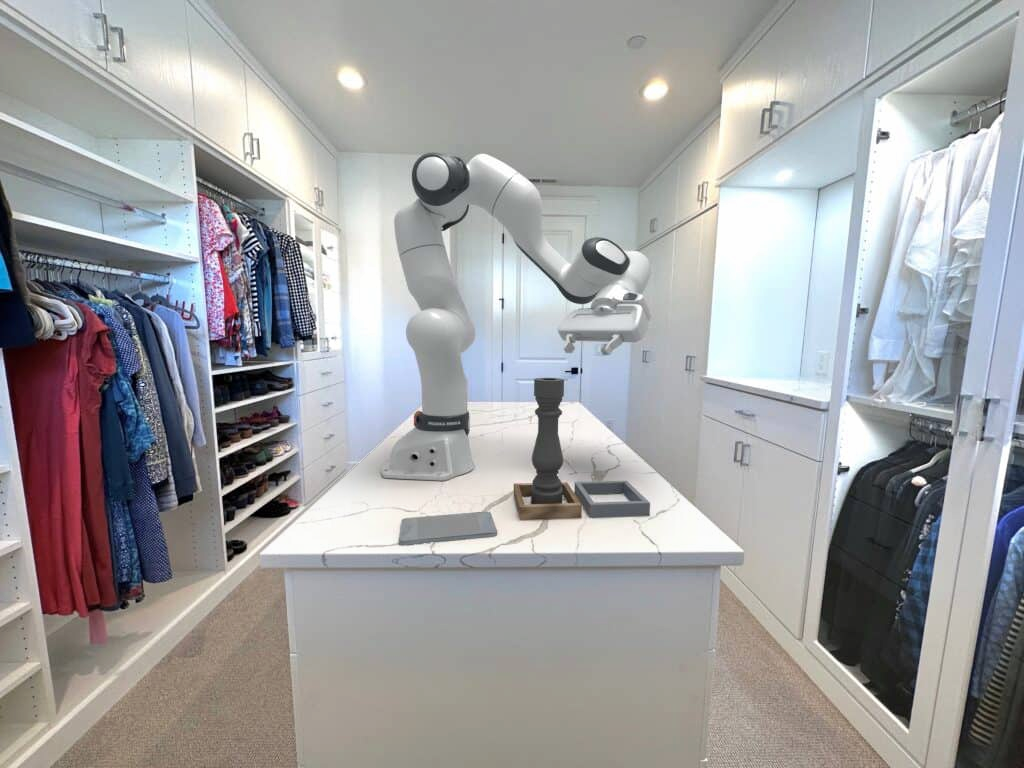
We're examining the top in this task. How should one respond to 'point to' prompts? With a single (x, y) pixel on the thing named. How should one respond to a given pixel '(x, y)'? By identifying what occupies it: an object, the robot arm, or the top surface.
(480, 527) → the phone
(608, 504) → the charcoal frame
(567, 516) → the walnut frame
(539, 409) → the candle holder
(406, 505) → the top surface
